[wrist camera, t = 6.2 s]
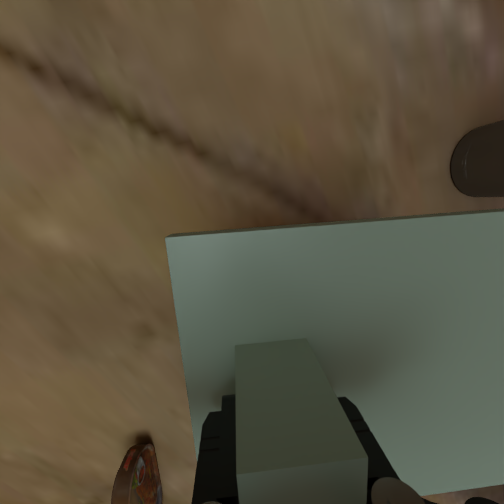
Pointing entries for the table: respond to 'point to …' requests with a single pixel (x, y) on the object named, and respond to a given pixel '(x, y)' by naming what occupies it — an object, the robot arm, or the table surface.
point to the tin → (138, 478)
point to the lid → (348, 350)
